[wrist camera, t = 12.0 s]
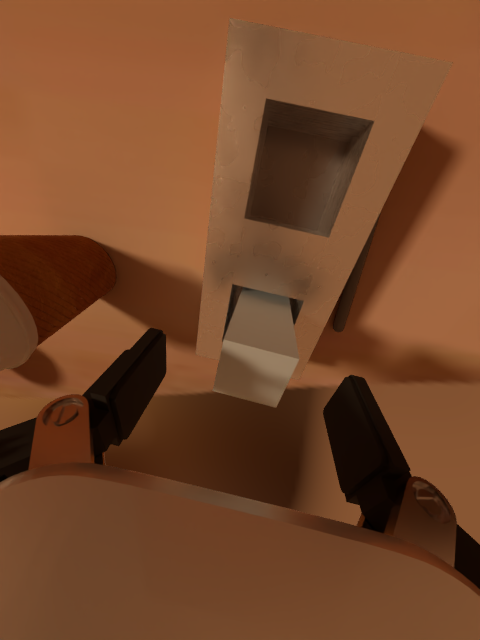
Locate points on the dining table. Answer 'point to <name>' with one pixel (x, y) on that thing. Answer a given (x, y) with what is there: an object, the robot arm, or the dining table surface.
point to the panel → (304, 169)
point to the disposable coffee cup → (46, 288)
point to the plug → (258, 349)
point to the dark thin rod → (352, 285)
